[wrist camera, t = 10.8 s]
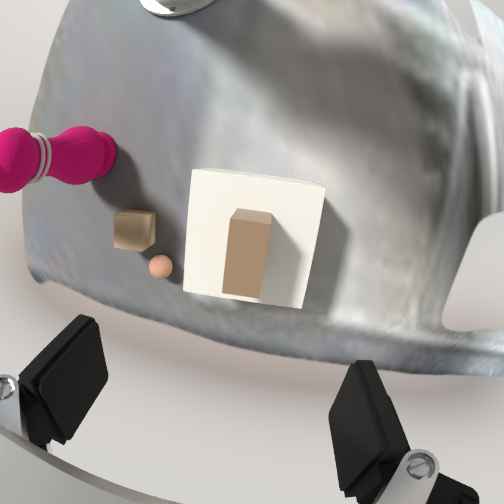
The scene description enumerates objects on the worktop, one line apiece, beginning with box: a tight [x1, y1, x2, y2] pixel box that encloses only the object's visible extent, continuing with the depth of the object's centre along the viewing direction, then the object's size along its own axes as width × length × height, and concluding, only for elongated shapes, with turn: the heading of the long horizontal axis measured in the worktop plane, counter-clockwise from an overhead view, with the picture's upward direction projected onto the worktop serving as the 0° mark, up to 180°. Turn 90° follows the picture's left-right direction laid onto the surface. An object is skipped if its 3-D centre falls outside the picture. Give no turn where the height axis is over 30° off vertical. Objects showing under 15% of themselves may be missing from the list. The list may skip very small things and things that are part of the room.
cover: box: [183, 168, 326, 309], centre depth 28 cm, size 12×12×13 cm
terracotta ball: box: [149, 255, 172, 279], centre depth 35 cm, size 3×3×3 cm
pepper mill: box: [0, 126, 116, 193], centre depth 23 cm, size 7×7×20 cm
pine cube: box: [114, 209, 156, 252], centre depth 33 cm, size 4×4×4 cm
